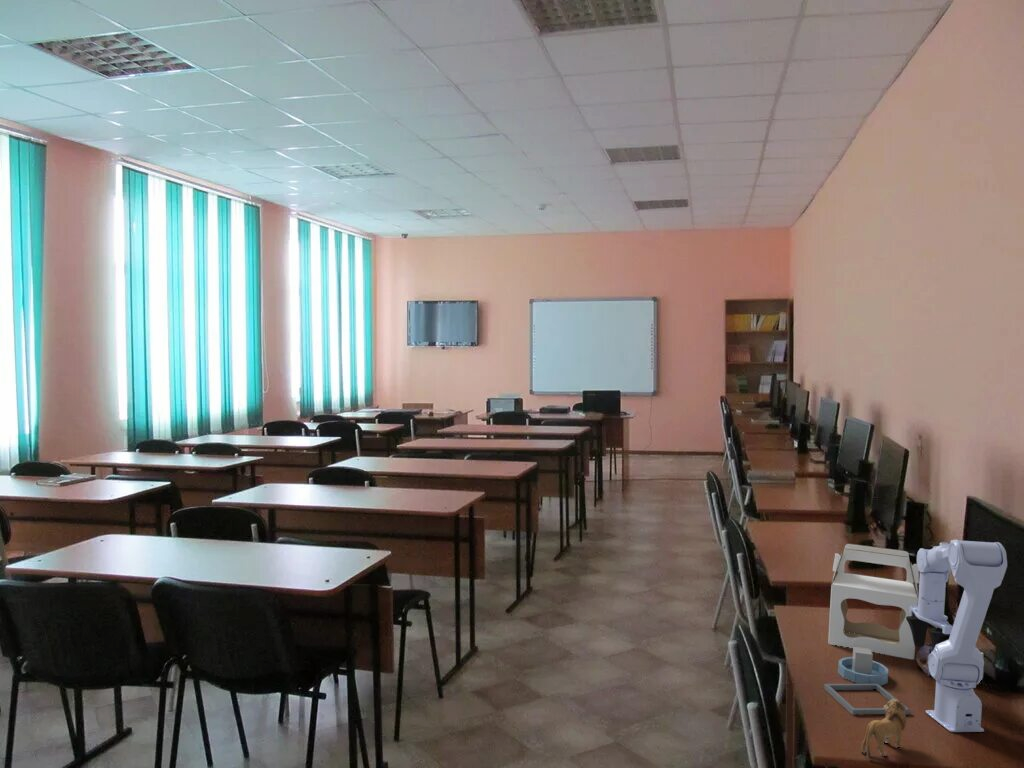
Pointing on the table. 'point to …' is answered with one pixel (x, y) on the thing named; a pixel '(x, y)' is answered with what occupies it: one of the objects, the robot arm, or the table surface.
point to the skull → (924, 657)
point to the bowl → (877, 675)
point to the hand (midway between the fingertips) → (928, 652)
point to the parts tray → (832, 687)
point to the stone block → (862, 660)
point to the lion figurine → (886, 726)
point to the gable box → (873, 601)
